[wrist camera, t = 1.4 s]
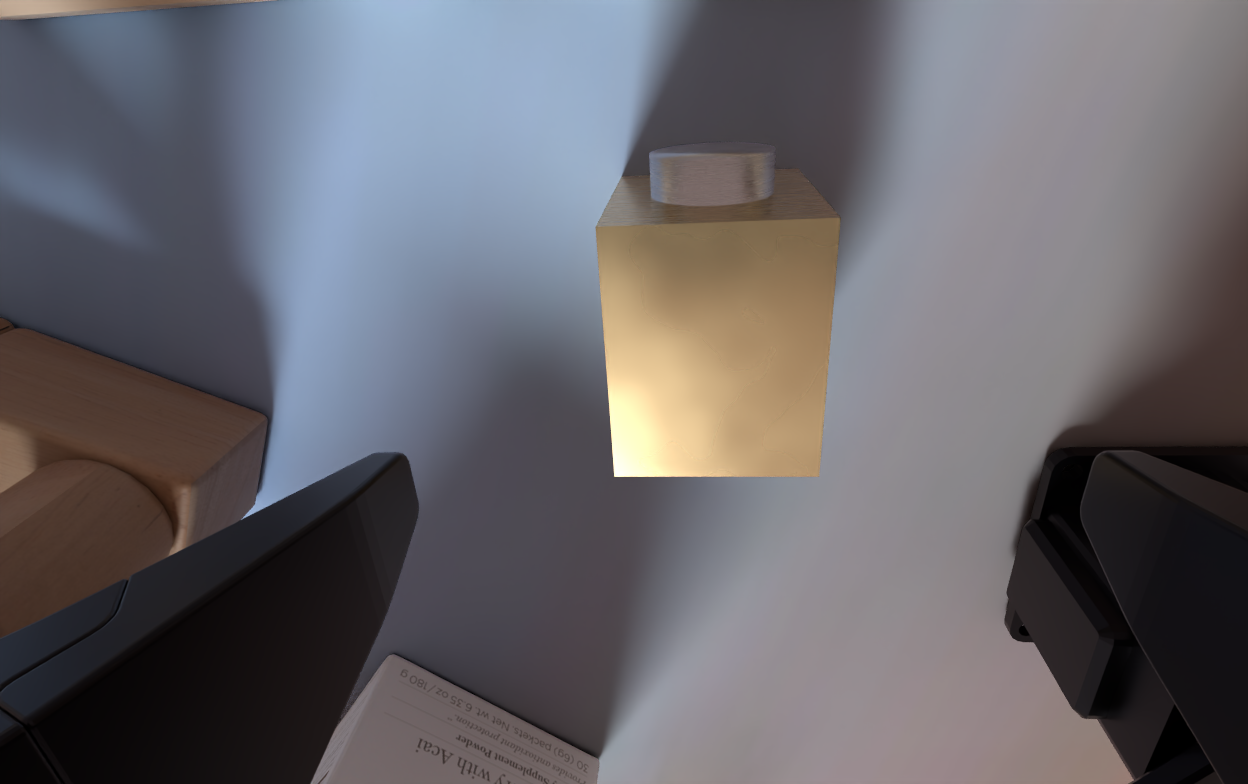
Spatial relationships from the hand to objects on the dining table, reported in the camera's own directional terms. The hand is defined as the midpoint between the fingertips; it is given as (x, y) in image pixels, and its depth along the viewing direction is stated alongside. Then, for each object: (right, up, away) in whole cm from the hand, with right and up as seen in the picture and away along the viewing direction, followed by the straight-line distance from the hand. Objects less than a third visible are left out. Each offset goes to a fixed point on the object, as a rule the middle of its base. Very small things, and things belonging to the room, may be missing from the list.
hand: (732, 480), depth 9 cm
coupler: (+1, +4, +8) cm, 9 cm away
